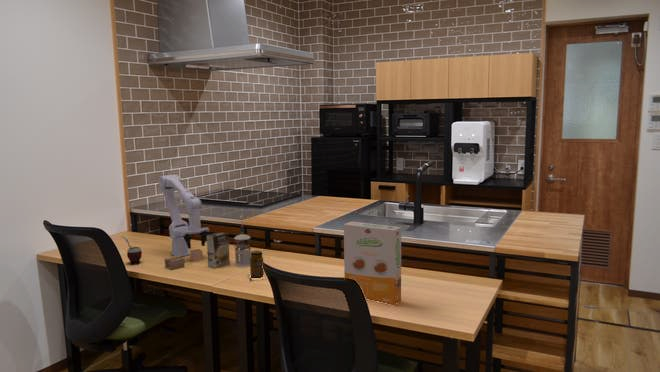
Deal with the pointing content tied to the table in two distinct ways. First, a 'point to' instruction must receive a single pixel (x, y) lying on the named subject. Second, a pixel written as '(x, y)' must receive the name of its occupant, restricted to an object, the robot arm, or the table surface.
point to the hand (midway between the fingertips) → (196, 247)
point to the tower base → (174, 266)
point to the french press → (242, 251)
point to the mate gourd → (133, 254)
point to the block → (196, 255)
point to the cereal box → (374, 260)
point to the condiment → (256, 264)
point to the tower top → (174, 261)
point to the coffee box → (218, 249)
